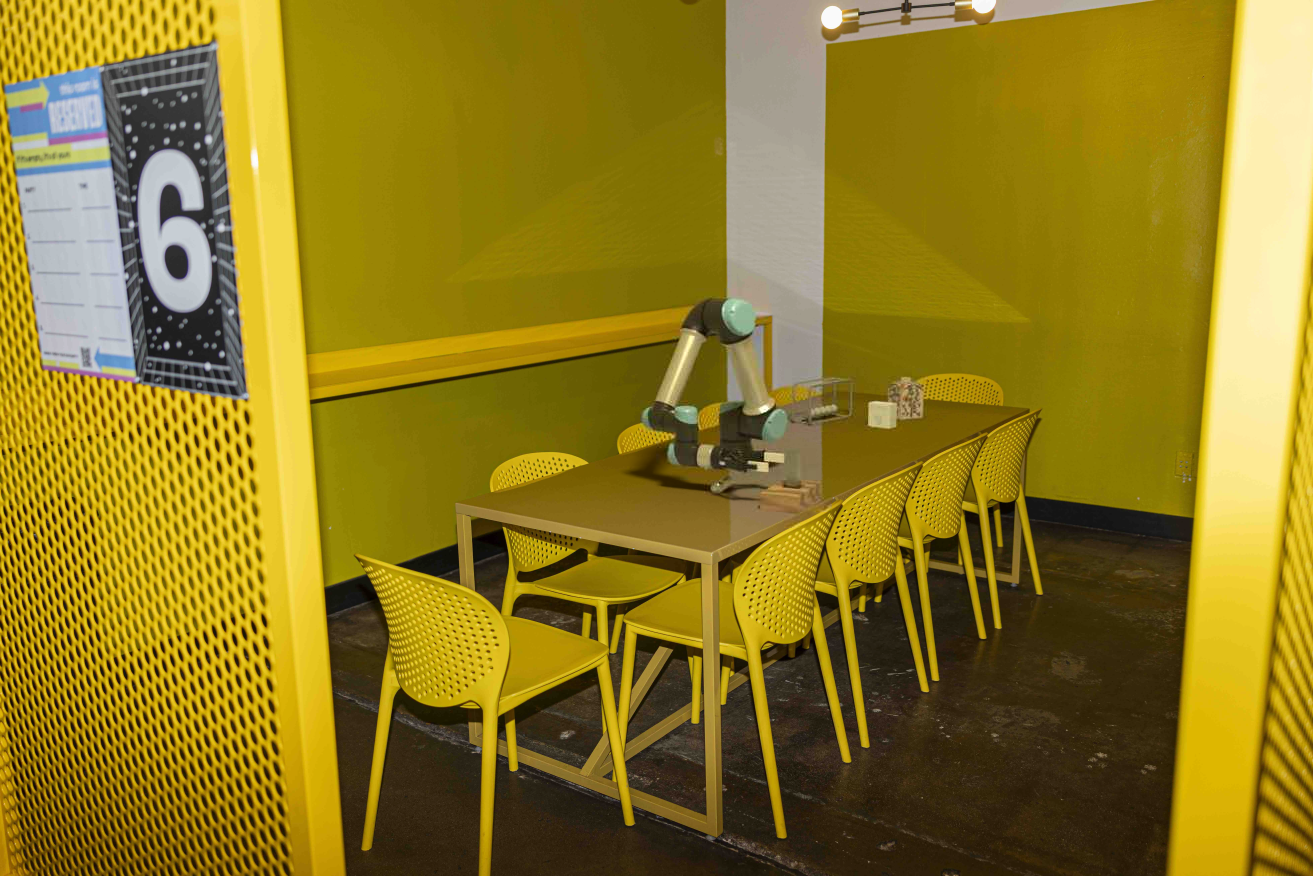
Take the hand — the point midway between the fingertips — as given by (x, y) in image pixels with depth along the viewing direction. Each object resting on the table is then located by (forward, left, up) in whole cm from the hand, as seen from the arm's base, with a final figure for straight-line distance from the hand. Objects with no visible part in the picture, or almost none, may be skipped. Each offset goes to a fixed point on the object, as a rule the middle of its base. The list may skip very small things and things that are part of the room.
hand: (776, 462), depth 305 cm
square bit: (0, +6, -11) cm, 13 cm away
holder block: (+2, +6, -12) cm, 13 cm away
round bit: (-4, -19, -9) cm, 21 cm away
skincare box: (-129, -4, -12) cm, 129 cm away
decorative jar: (-154, -1, -12) cm, 154 cm away
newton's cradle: (-134, -33, -12) cm, 138 cm away
